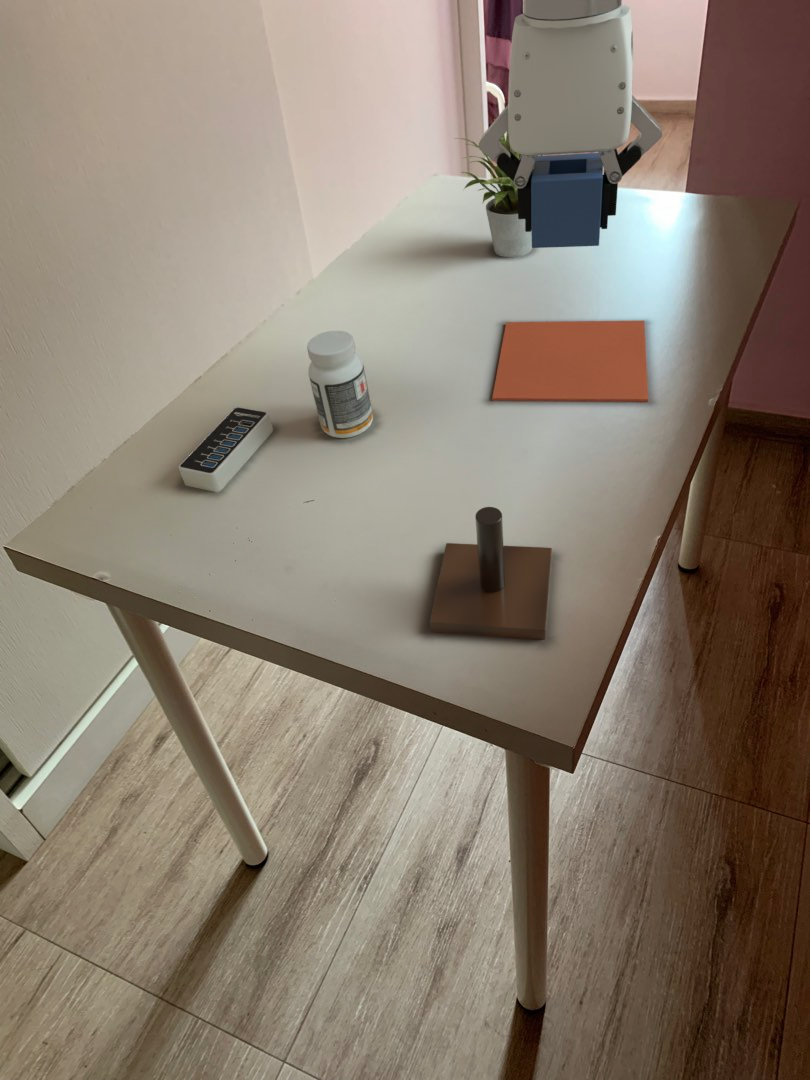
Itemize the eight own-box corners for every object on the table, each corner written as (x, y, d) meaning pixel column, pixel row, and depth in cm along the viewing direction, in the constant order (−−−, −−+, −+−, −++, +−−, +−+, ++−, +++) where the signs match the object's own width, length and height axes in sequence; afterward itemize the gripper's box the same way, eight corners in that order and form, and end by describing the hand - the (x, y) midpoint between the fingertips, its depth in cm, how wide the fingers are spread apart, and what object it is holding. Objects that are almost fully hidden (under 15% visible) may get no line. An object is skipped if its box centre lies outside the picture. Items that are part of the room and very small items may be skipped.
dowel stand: (551, 557, 69) (552, 478, 63) (545, 640, 62) (546, 561, 56) (447, 552, 70) (438, 475, 65) (430, 632, 64) (419, 554, 58)
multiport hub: (183, 485, 82) (176, 467, 80) (240, 423, 89) (235, 405, 87) (218, 493, 80) (212, 475, 79) (275, 429, 87) (270, 411, 85)
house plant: (443, 238, 117) (433, 117, 106) (532, 217, 119) (531, 96, 108) (476, 279, 107) (469, 149, 96) (574, 255, 109) (577, 125, 97)
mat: (644, 323, 94) (644, 320, 94) (648, 402, 83) (648, 399, 83) (506, 325, 97) (506, 322, 97) (492, 401, 86) (492, 398, 86)
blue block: (599, 218, 77) (602, 152, 73) (599, 246, 73) (602, 177, 68) (535, 220, 78) (535, 156, 74) (531, 248, 74) (531, 181, 70)
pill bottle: (381, 411, 87) (367, 329, 80) (362, 443, 83) (346, 359, 77) (333, 406, 89) (316, 325, 82) (312, 437, 85) (292, 355, 78)
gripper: (685, -27, 63) (661, 204, 76) (466, -6, 67) (477, 211, 79) (693, -6, 58) (665, 238, 70) (454, 16, 62) (468, 245, 74)
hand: (566, 222), depth 75 cm, fingers closed on blue block, 6 cm apart
